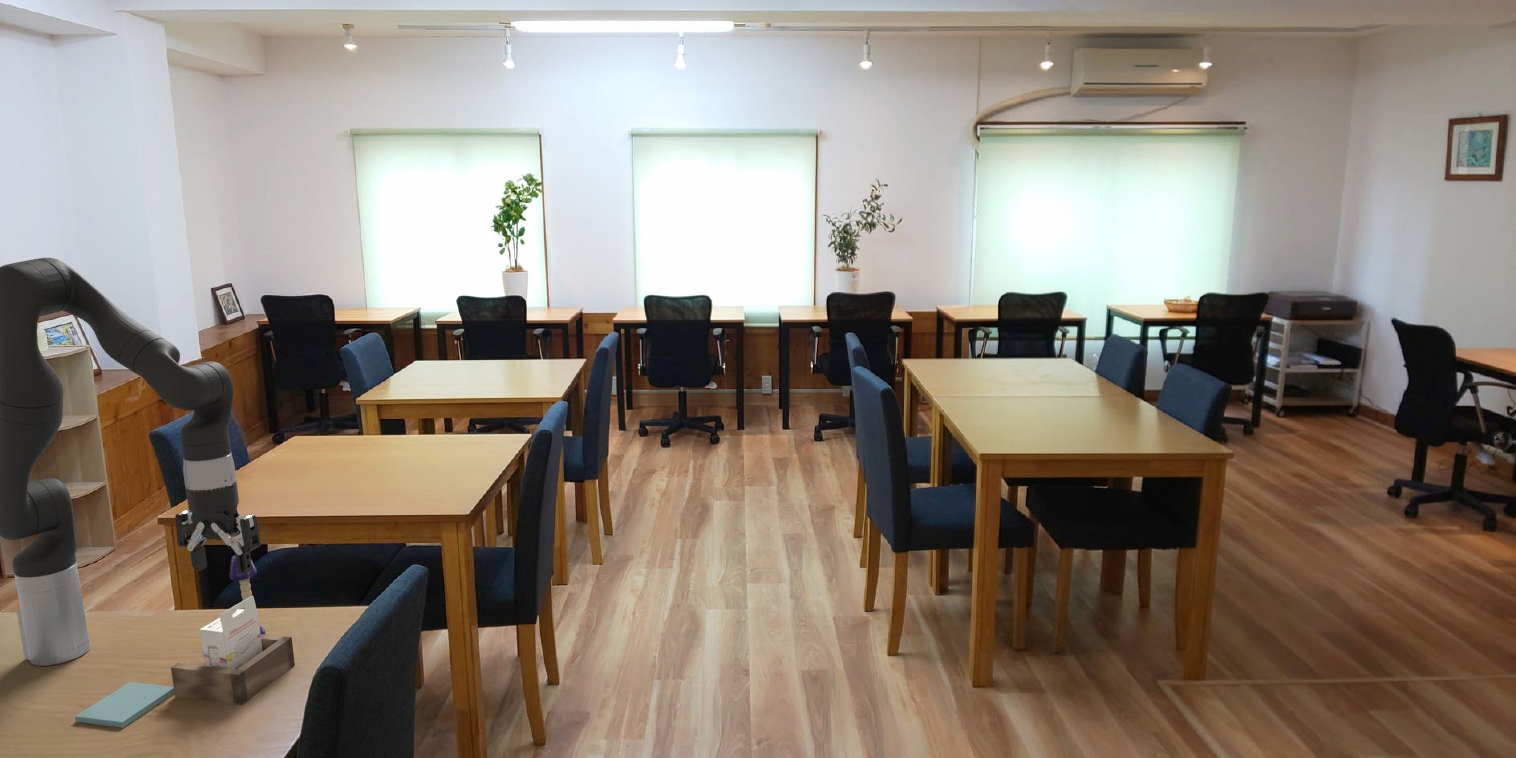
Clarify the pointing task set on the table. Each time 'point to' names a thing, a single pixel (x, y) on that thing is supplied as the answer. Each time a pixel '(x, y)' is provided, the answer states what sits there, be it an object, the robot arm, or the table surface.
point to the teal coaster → (125, 704)
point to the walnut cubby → (235, 674)
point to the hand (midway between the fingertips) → (222, 571)
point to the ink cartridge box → (232, 637)
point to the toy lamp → (243, 581)
